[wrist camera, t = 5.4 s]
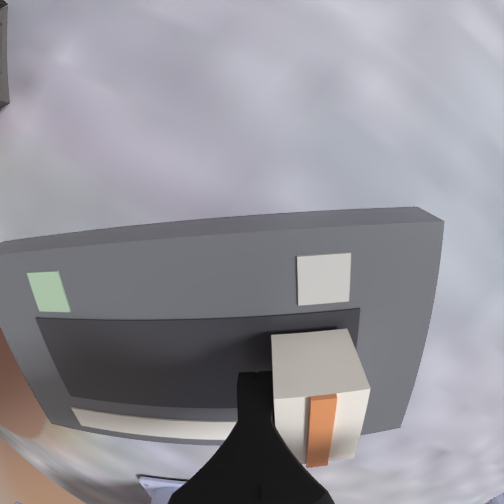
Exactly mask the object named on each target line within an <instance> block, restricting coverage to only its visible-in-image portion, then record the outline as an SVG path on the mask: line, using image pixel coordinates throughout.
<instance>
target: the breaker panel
mask: <svg viewBox="0 0 504 504" xmlns="http://www.w3.org/2000/svg"><path fill="white" fill-rule="evenodd" d="M443 229H444V221H443V220H441V219H439V218H437V217H435V216H434V215H432V214H430V213H428V212H426V211H424V210H422V209H420V208H419V207H403V208H374V209H351V210H331V211H312V212H295V213H279V214H264V215H250V216H237V217H224V218H211V219H199V220H188V221H177V222H166V223H156V224H145V225H136V226H126V227H117V228H107V229H99V230H90V231H81V232H73V233H65V234H57V235H49V236H41V237H34V238H26V239H19V240H12V241H5V242H2V243H0V327H1V329H2V332H3V334H4V336H5V339H6V341H7V343H8V345H9V347H10V349H11V351H12V354H13V356H14V358H15V360H16V362H17V364H18V366H19V368H20V370H21V372H22V374H23V375H24V378H25V379H26V381H27V383H28V385H29V387H30V388H31V390H32V392H33V394H34V396H35V397H36V399H37V400H38V402H39V404H40V406H41V407H42V409H43V411H44V412H45V414H46V416H47V417H48V419H49V420H50V422H51V423H52V424H55V425H59V426H64V427H68V428H72V429H77V430H82V431H87V432H92V433H97V434H103V435H109V436H115V437H122V438H129V439H136V440H144V441H153V442H164V443H176V444H192V445H220V446H221V445H222V444H223V443H224V441H225V440H226V438H227V437H228V435H229V434H230V432H231V431H232V429H233V428H234V426H235V424H236V422H237V421H238V414H237V380H238V375H239V372H256V373H257V372H259V371H273V367H272V343H271V335H278V334H292V333H305V332H317V331H328V330H338V329H348V332H349V334H350V337H351V339H352V342H353V344H354V347H355V349H356V352H357V354H358V357H359V359H360V362H361V365H362V367H363V370H364V372H365V375H366V378H367V380H368V383H369V386H370V388H371V389H370V394H369V399H368V404H367V409H366V413H365V417H364V422H363V426H362V430H361V434H360V435H365V434H371V433H376V432H381V431H386V430H391V429H396V428H400V426H401V424H402V421H403V418H404V415H405V412H406V409H407V406H408V403H409V400H410V396H411V393H412V390H413V387H414V383H415V380H416V376H417V373H418V369H419V365H420V362H421V358H422V354H423V350H424V346H425V341H426V337H427V333H428V328H429V323H430V319H431V314H432V308H433V303H434V297H435V292H436V286H437V279H438V272H439V265H440V257H441V249H442V240H443Z"/></svg>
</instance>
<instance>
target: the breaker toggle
mask: <svg viewBox="0 0 504 504" xmlns="http://www.w3.org/2000/svg"><path fill="white" fill-rule="evenodd" d="M271 343H272V367H273V394H274V413H275V427H276V429H277V430H278V432H279V434H280V435H281V437H282V439H283V440H284V442H285V443H286V445H287V446H288V448H289V449H290V451H291V452H292V453H293V454H294V456H295V457H296V458H297V459H298V461H299V462H300V463H301V464H306V467H317V466H326V465H328V461H333V460H341V459H347V458H354V457H355V453H356V450H357V446H358V442H359V438H360V434H361V430H362V426H363V422H364V417H365V413H366V409H367V404H368V399H369V394H370V389H371V388H370V386H369V383H368V380H367V378H366V375H365V372H364V370H363V367H362V365H361V362H360V359H359V357H358V354H357V352H356V349H355V347H354V344H353V342H352V339H351V337H350V334H349V332H348V329H338V330H328V331H317V332H305V333H292V334H278V335H271Z"/></svg>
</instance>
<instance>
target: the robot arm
mask: <svg viewBox="0 0 504 504" xmlns="http://www.w3.org/2000/svg"><path fill="white" fill-rule="evenodd" d="M237 414H238V421H237V422H236V424H235V426H234V428H233V429H232V431H231V432H230V434H229V435H228V437H227V438H226V440H225V441H224V443H223V444H222V445H221V447H220V448H219V449H218V450H217V452H216V453H215V454H214V455H213V456H212V458H211V459H210V460H209V461H208V462H207V463H206V464H205V465H204V466H203V467H202V468H201V469H200V470H199V471H198V472H197V473H196V474H195V475H194V476H193V477H192V478H191V479H190V480H188V481H187V482H186V481H175V480H166V479H158V478H150V477H143V476H141V477H139V482H140V483H141V485H142V486H143V488H144V489H145V490H146V492H147V493H148V495H149V496H150V497H151V499H152V500H151V504H335V503H334V501H333V500H332V498H331V496H330V495H329V493H328V491H327V490H326V489H325V488H324V487H323V486H322V485H321V484H319V483H318V482H317V481H316V480H315V479H314V478H313V477H312V476H311V474H310V473H309V472H308V471H307V470H306V469H305V468H304V467H303V466H302V464H301V463H300V462H299V461H298V459H297V458H296V457H295V456H294V454H293V453H292V452H291V451H290V449H289V448H288V446H287V445H286V443H285V442H284V440H283V439H282V437H281V435H280V434H279V432H278V430H277V429H276V427H275V413H274V394H273V371H259V372H257V373H256V372H239V375H238V380H237ZM15 504H21V503H19V502H16V503H15ZM486 504H504V493H502V494H500V495H498V496H496V497H495V498H493V499H491V500H490V501H488V502H487V503H486Z"/></svg>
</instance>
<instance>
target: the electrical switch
mask: <svg viewBox="0 0 504 504" xmlns="http://www.w3.org/2000/svg"><path fill="white" fill-rule="evenodd" d="M6 5H8V4H7V3H6V2H5V1H4V0H0V108H1V107H3V106H5V105H7V104H9V103H10V101H9V89H8V74H7V12H8V6H6ZM4 6H6V7H4ZM2 7H4V8H2ZM1 8H2V9H1Z"/></svg>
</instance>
